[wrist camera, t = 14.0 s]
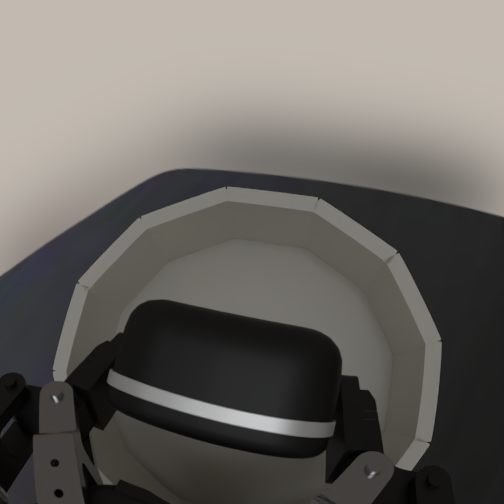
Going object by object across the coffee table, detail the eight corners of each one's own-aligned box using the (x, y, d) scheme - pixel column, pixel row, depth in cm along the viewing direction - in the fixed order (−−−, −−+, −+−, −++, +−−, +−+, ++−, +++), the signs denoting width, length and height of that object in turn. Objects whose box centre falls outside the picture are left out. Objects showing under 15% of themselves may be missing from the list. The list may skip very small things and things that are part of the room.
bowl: (404, 256, 21) (435, 218, 16) (368, 527, 13) (395, 560, 8) (146, 221, 24) (119, 178, 19) (83, 468, 15) (37, 479, 10)
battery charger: (311, 362, 18) (369, 319, 7) (299, 423, 16) (343, 468, 6) (198, 340, 19) (114, 270, 8) (184, 398, 17) (77, 397, 7)
